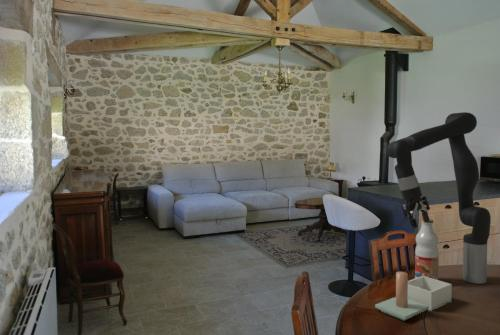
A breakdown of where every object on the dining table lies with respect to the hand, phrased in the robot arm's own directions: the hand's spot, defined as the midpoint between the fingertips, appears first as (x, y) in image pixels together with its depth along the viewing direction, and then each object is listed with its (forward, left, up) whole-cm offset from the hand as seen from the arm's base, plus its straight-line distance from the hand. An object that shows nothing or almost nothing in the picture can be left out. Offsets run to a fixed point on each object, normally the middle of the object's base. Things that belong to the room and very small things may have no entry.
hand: (421, 224), depth 160 cm
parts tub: (+8, +7, -28) cm, 30 cm away
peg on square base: (+24, +7, -28) cm, 38 cm away
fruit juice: (-12, -5, -28) cm, 31 cm away
